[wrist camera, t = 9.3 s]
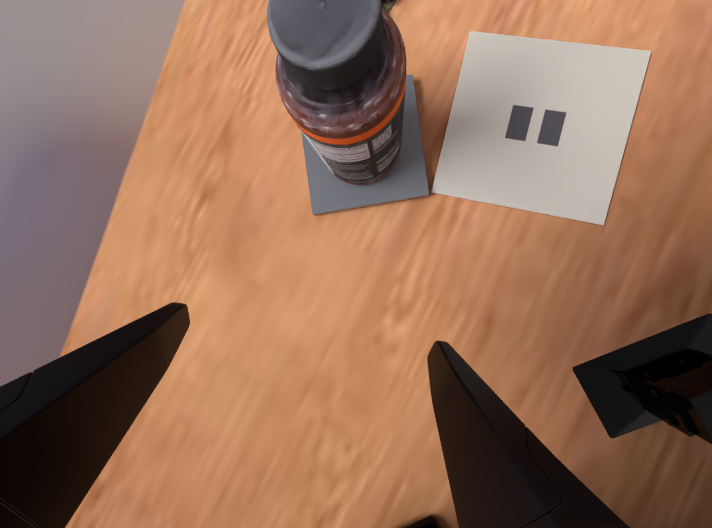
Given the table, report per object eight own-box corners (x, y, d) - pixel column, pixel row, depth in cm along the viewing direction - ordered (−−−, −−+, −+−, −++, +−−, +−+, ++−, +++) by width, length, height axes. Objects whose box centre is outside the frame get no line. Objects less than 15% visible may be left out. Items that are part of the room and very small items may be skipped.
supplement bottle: (339, 100, 20) (273, -108, 9) (413, 122, 19) (444, -72, 8) (312, 173, 20) (215, 66, 9) (383, 199, 20) (373, 115, 8)
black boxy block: (589, 450, 19) (651, 509, 15) (542, 360, 19) (588, 391, 15) (772, 384, 17) (906, 428, 13) (717, 287, 18) (829, 297, 13)
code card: (601, 225, 18) (604, 224, 18) (431, 192, 20) (431, 191, 20) (648, 53, 18) (651, 50, 17) (469, 32, 19) (470, 30, 19)
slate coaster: (428, 196, 20) (429, 194, 19) (315, 215, 21) (312, 214, 20) (411, 80, 20) (412, 74, 19) (299, 105, 21) (297, 101, 20)
